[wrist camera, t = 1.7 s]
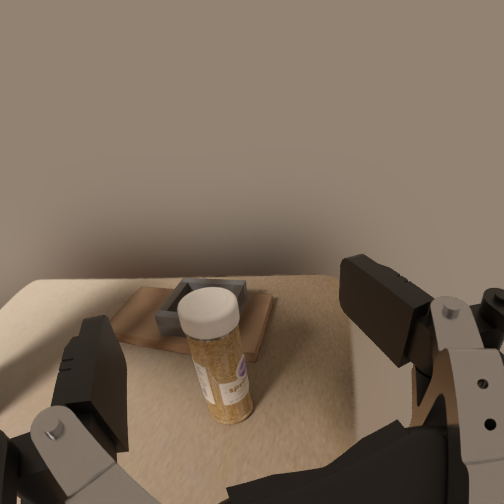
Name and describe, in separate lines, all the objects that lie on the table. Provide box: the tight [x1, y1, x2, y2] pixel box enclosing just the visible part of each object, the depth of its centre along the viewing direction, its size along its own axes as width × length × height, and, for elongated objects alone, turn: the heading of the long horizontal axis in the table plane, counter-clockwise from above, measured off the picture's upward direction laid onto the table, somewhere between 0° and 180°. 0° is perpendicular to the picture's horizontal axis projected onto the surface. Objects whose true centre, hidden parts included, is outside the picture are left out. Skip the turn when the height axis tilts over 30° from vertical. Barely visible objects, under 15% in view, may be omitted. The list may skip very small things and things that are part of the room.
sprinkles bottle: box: [177, 287, 253, 424], centre depth 25 cm, size 5×5×14 cm
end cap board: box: [110, 278, 273, 362], centre depth 41 cm, size 22×12×4 cm, turn 77°
